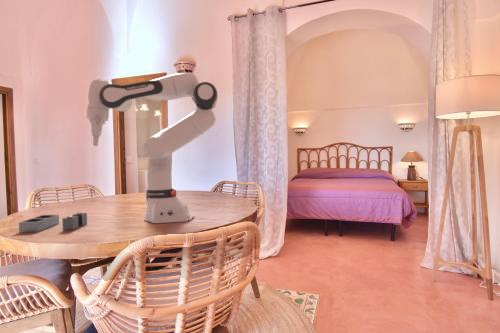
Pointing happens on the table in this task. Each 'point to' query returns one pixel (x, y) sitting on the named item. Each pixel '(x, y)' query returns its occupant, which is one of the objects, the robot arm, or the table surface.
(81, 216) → the nut
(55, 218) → the grey holder block
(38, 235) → the table surface
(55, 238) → the table surface
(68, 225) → the dark grey block
